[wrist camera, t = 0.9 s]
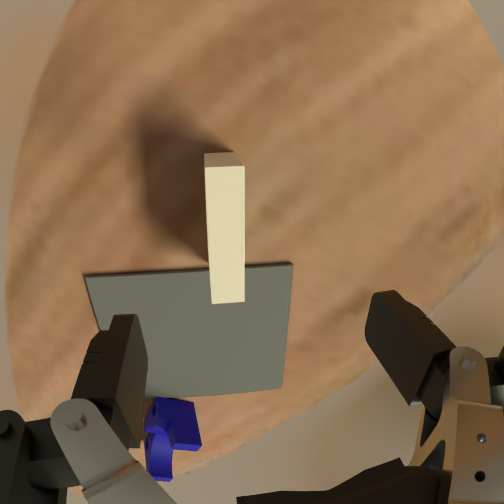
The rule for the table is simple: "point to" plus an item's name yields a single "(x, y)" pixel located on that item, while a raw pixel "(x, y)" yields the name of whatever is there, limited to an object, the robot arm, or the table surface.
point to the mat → (203, 328)
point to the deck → (225, 226)
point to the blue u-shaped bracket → (169, 435)
